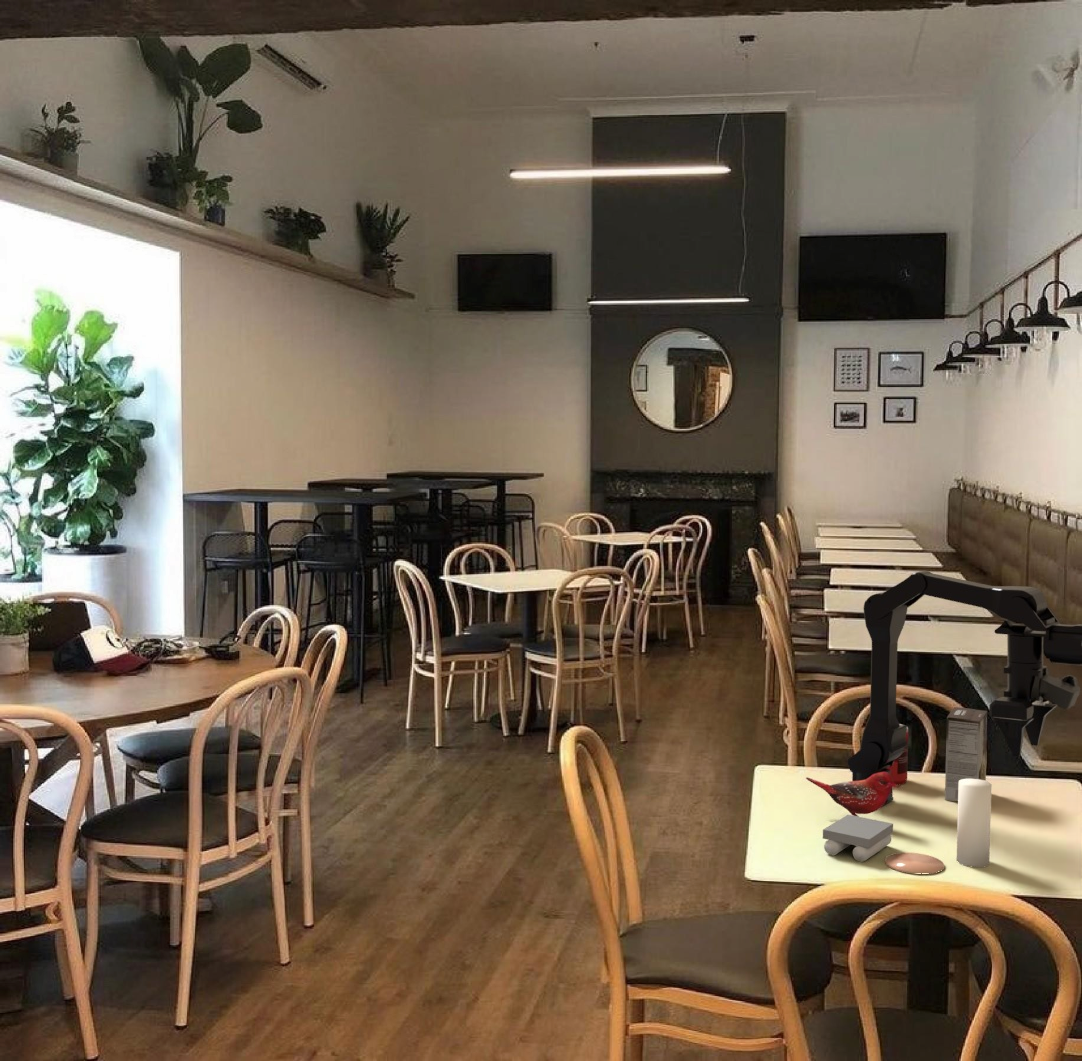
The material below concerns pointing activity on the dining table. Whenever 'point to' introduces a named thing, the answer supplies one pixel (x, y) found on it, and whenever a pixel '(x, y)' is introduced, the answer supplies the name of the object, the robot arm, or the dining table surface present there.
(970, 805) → the post
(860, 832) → the slab on rollers
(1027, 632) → the robot arm
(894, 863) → the pad
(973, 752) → the coffee box
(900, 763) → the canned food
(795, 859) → the dining table surface
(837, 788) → the decorative bird figurine
